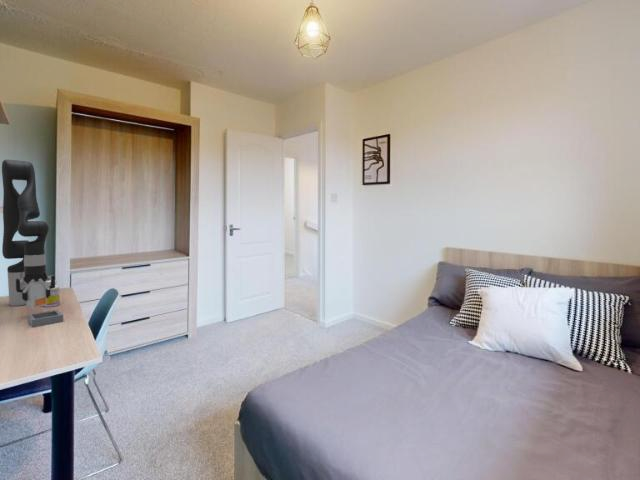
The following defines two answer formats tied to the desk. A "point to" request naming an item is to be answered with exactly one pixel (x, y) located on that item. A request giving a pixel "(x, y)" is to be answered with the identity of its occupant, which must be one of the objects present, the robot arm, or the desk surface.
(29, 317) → the frame
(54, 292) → the supplement bottle
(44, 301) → the skincare box
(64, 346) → the desk surface
